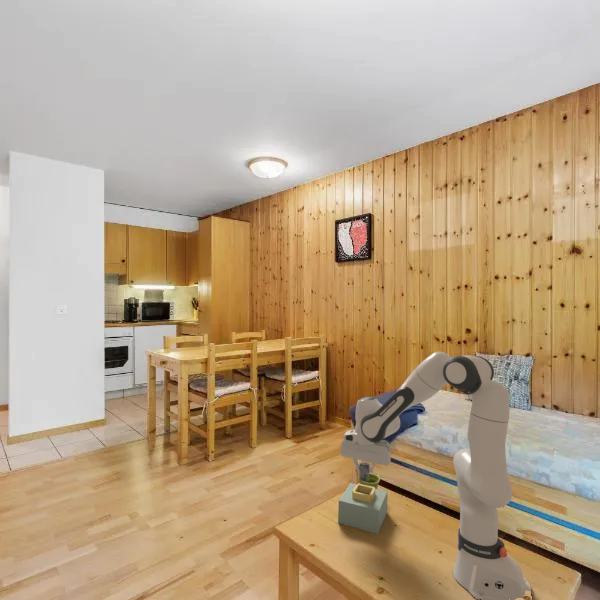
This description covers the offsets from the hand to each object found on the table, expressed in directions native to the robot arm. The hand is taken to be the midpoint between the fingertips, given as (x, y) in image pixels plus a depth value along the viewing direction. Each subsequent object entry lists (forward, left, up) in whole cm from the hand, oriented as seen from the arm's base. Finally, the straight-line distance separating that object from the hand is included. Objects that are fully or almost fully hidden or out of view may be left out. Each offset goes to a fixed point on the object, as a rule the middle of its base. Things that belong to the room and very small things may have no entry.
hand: (364, 470), depth 157 cm
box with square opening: (0, 0, -19) cm, 19 cm away
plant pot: (+2, -17, -20) cm, 26 cm away
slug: (0, 0, -3) cm, 3 cm away
